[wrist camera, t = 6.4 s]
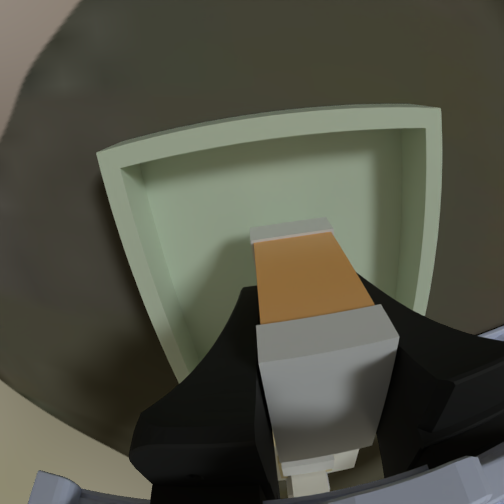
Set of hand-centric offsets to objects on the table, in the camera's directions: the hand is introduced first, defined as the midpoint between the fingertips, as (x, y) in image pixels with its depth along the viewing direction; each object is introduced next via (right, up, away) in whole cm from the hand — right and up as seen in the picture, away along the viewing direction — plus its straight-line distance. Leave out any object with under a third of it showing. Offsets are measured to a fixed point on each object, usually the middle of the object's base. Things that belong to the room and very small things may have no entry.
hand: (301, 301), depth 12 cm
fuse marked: (0, +1, +2) cm, 2 cm away
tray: (0, +2, +4) cm, 4 cm away
